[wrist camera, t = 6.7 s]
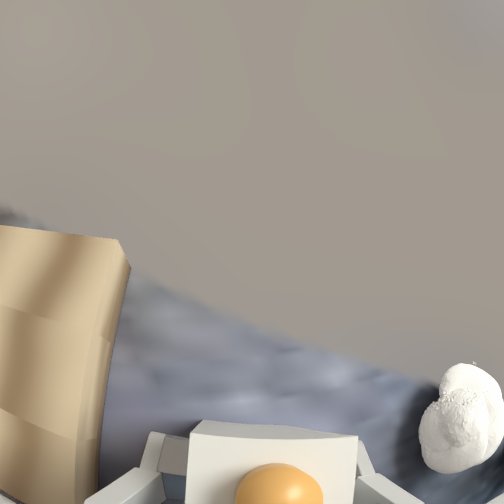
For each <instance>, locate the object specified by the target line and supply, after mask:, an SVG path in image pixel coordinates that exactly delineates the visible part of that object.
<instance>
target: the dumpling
mask: <svg viewBox="0 0 504 504" xmlns="http://www.w3.org/2000/svg"><path fill="white" fill-rule="evenodd" d="M472 363H473V364H474V365H476V363H475V362H472ZM439 395H440V398H439V399H438V401H437V402H433V403H431V405H429V407H427V410H426V411H424V414H423V415H422V419H421V422H420V427H419V439H420V440H419V441H420V444H421V450H422V456H423V459H424V462H425V463H426V465H427V466H428V467H429V468H431V469H432V470H435V471H436V472H439V473H443V474H454V473H458V472H461V471H464V470H466V469H468V468H470V467H472V466H476V465H478V464H481V463H483V462H484V461H485V460H487V459H488V458H489V457H490V456H491V455H492V454H493V453H494V452H495V451H496V449H497V448H498V446H499V445H500V443H501V441H502V439H503V436H504V402H503V400H502V395H501V390H500V387H499V385H498V383H497V382H496V381H495V380H494V378H492V377H491V376H490V375H489V374H487V373H486V372H485V371H483V370H481V369H479V368H477V367H475V366H473V365H470V364H462V363H460V364H457V365H455V366H452V367H451V368H450V369H448V370H447V371H446V372H445V374H444V375H443V377H442V380H441V383H440V387H439Z"/></svg>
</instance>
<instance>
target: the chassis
mask: <svg viewBox="0 0 504 504" xmlns="http://www.w3.org/2000/svg"><path fill="white" fill-rule="evenodd" d="M130 271H131V266H130V264H129V262H128V260H127V258H126V256H125V254H124V252H123V250H122V248H121V246H120V244H119V242H118V240H116V239H108V238H99V237H91V236H83V235H75V234H67V233H59V232H51V231H43V230H35V229H27V228H19V227H11V226H3V225H0V489H1V490H2V491H4V492H5V493H7V494H9V495H10V496H12V497H14V498H16V499H17V500H19V501H21V502H23V503H25V504H84V502H85V500H86V499H87V498H89V497H91V496H92V495H94V494H95V493H97V492H98V477H99V457H100V443H101V432H102V422H103V413H104V405H105V397H106V390H107V383H108V376H109V370H110V364H111V358H112V352H113V347H114V342H115V336H116V331H117V327H118V322H119V317H120V312H121V308H122V304H123V299H124V295H125V291H126V287H127V283H128V279H129V275H130Z"/></svg>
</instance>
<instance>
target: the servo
mask: <svg viewBox="0 0 504 504" xmlns="http://www.w3.org/2000/svg"><path fill="white" fill-rule="evenodd" d="M357 450H358V436H354V435H345V434H336V433H329V432H322V431H315V430H309V429H303V428H298V427H292V426H287V425H260V424H243V423H230V422H219V421H210V420H202V421H201V422H200V423H199V424H198V425H197V426H196V427H195V428H194V429H193V430H192V431H191V432H190V441H189V452H188V465H187V479H186V494H185V504H353V496H354V487H355V477H356V465H357Z"/></svg>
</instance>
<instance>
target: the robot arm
mask: <svg viewBox="0 0 504 504" xmlns="http://www.w3.org/2000/svg"><path fill="white" fill-rule="evenodd" d="M189 441H190V438H185V437H180V436H174V435H169V434H164V433H159V432H154V431H151V432H150V434H149V436H148V440H147V443H146V446H145V450H144V453H143V457H142V460H141V464H140V467H139V468H137V467H134V468H133V469H132V470H130V471H129V472H127V473H126V474H124V475H123V476H121V477H120V478H118V479H117V480H115V481H114V482H112V483H111V484H109V485H108V486H106V487H105V488H103V489H102V490H100V491H99V492H97V493H95V494H94V495H92V496H91V497H89V498H87V499H86V500H85V502H84V504H161V503H162V502H163V501H165V500H166V498H171V499H178V500H185V494H186V479H187V465H188V452H189ZM0 504H17V503H15V502H13V501H11V500H10V499H8V498H6V497H5V496H3V495H2V494H0ZM353 504H425V503H424V502H422V501H421V500H419V499H417V498H416V497H414V496H413V495H411V494H410V493H408V492H406V491H405V490H403V489H402V488H400V487H399V486H397V485H396V484H394V483H393V482H391V481H390V480H388V479H387V478H385V477H384V476H383V475H381V474H380V473H376V474H375V471H374V469H373V466H372V464H371V461H370V459H369V457H368V454H367V452H366V449H365V447H364V445H363V442H361V441H358V450H357V465H356V477H355V487H354V496H353ZM486 504H504V493H502V494H501V495H499V496H497V497H496V498H494V499H492V500H491V501H489V502H487V503H486Z"/></svg>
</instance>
